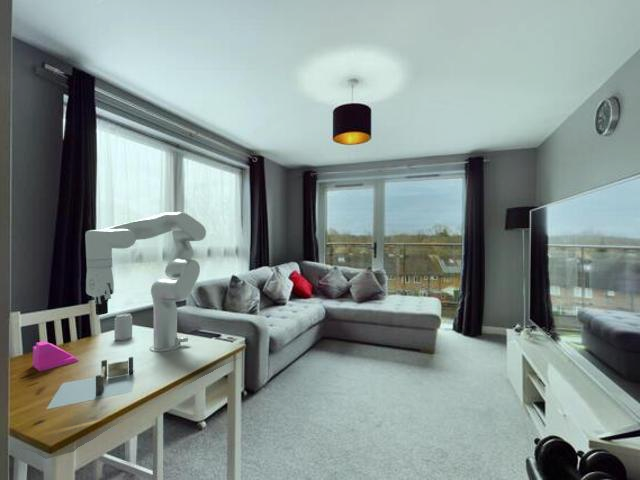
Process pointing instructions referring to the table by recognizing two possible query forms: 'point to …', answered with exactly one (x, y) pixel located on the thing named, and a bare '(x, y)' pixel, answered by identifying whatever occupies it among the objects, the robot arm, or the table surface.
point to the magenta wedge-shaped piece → (50, 356)
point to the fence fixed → (114, 371)
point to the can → (123, 326)
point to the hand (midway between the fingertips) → (102, 313)
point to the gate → (103, 378)
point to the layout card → (90, 390)
